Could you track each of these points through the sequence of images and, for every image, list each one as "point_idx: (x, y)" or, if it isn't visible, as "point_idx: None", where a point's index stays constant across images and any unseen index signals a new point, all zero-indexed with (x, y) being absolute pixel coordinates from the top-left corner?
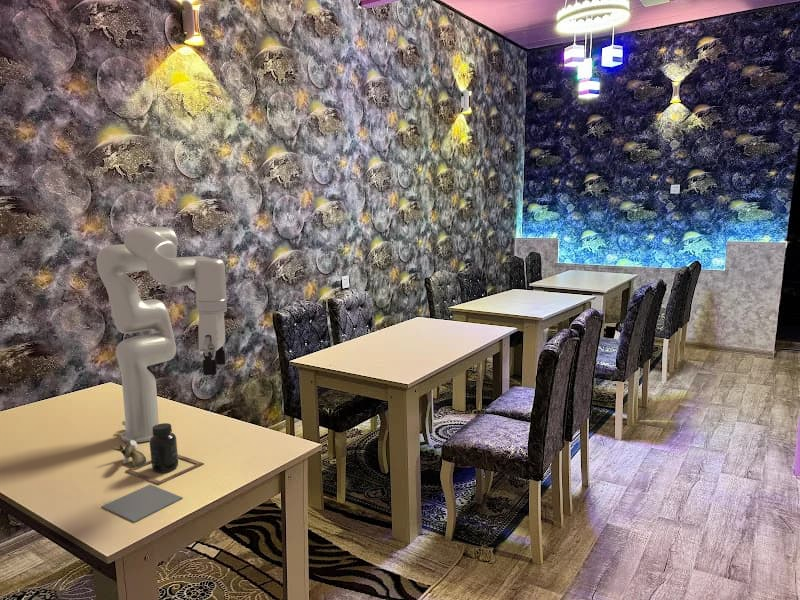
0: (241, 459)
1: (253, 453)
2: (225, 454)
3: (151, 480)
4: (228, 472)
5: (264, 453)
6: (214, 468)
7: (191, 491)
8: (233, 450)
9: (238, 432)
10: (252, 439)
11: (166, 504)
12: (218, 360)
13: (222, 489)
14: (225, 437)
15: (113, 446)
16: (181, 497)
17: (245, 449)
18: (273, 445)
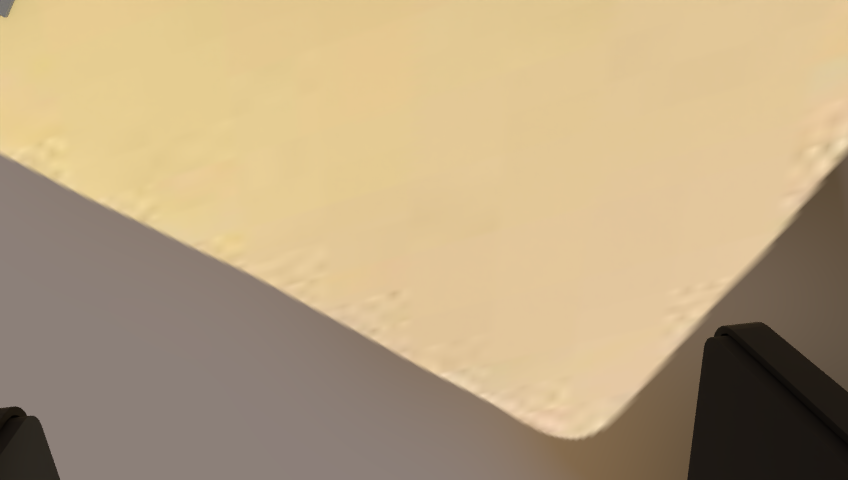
0: (458, 173)
1: (524, 211)
2: (523, 74)
3: None
4: (313, 154)
5: (520, 260)
6: (355, 68)
7: (91, 34)
8: (569, 101)
9: (806, 58)
10: (696, 160)
11: None
12: (735, 465)
13: (135, 180)
14: (751, 3)
15: None
16: (2, 10)
17: (575, 159)
18: (607, 277)
